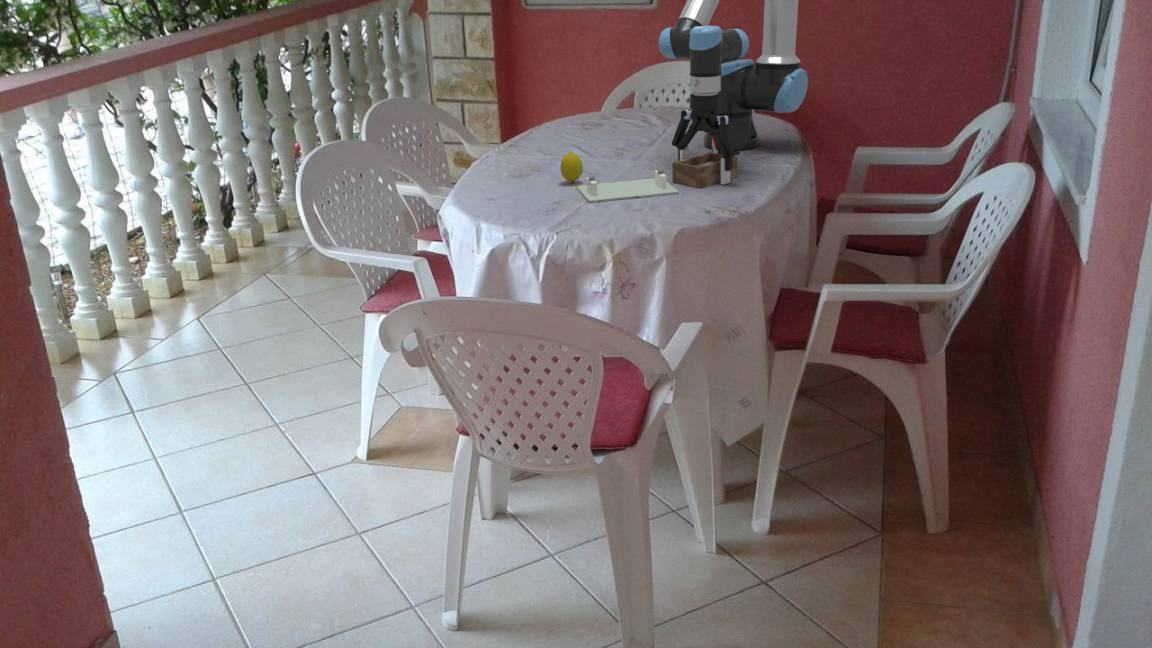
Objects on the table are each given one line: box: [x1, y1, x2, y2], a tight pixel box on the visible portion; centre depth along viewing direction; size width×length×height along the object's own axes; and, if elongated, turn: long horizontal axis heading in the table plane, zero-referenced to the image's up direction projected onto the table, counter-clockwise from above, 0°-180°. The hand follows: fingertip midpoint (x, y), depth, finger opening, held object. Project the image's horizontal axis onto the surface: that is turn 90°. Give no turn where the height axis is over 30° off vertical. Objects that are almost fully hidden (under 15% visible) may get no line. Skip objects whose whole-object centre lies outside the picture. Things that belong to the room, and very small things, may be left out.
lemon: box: [560, 151, 584, 184], centre depth 258 cm, size 6×6×8 cm
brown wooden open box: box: [671, 151, 738, 189], centre depth 256 cm, size 14×9×5 cm, turn 132°
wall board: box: [575, 169, 680, 203], centre depth 250 cm, size 22×14×4 cm, turn 102°
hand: (704, 179), depth 257 cm, fingers open, 13 cm apart
